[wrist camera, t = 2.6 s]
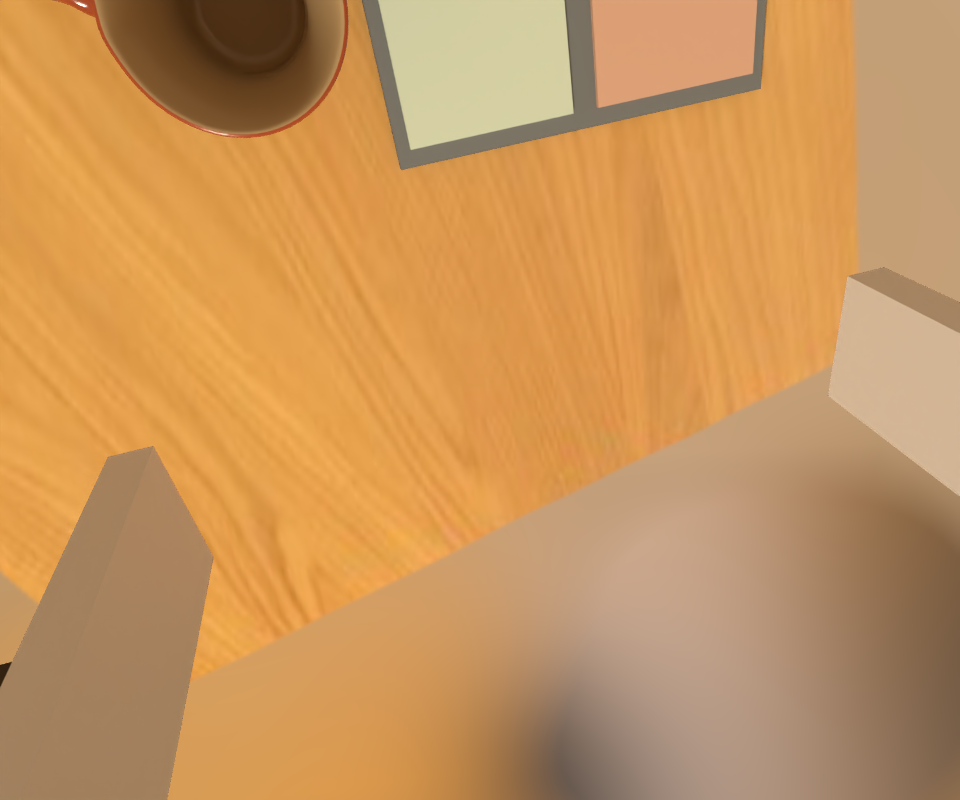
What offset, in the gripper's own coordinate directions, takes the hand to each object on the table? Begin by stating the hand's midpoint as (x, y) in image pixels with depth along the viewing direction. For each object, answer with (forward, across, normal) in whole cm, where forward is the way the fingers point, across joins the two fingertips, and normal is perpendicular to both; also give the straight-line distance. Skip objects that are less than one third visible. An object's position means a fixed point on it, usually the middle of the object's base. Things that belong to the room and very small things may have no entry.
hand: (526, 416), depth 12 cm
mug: (+29, -7, +8) cm, 31 cm away
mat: (+29, +11, +5) cm, 31 cm away
